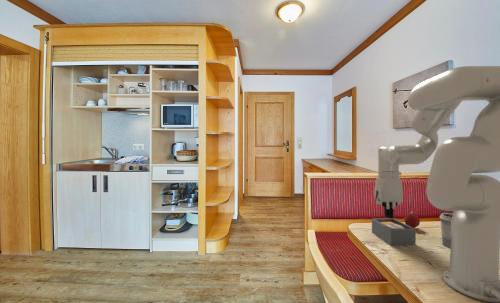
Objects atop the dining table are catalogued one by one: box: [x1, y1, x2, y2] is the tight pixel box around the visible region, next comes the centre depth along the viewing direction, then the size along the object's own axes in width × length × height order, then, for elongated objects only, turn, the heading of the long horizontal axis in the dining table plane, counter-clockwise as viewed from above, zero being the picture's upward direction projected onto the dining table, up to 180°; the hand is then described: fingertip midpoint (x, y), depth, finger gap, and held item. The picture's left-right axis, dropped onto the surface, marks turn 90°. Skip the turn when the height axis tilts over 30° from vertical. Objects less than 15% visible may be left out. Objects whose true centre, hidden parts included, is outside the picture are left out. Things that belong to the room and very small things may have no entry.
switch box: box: [371, 217, 417, 246], centre depth 92 cm, size 13×10×6 cm
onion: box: [403, 211, 420, 229], centre depth 102 cm, size 6×6×8 cm
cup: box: [439, 212, 454, 249], centre depth 85 cm, size 7×7×12 cm
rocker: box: [381, 222, 405, 229], centre depth 92 cm, size 8×5×1 cm, turn 2°
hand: (389, 217), depth 94 cm, fingers closed
